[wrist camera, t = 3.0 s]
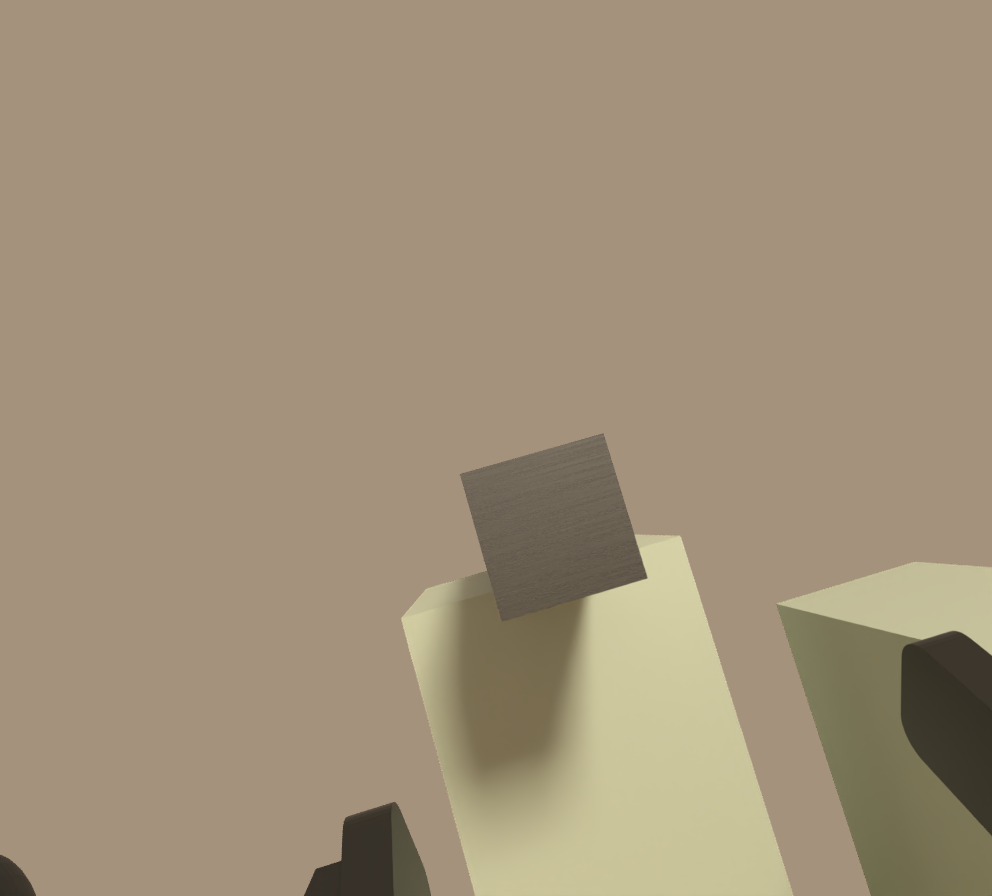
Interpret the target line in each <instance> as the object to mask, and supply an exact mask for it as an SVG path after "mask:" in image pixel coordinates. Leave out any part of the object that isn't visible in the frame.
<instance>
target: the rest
mask: <svg viewBox="0 0 992 896" xmlns="http://www.w3.org/2000/svg"><path fill="white" fill-rule="evenodd" d="M777 608H778V611H779V614H780V617H781V620H782V623H783V626H784V629H785V633H786V635H787V638H788V641H789V645H790V648H791V651H792V654H793V657H794V660H795V663H796V666H797V669H798V672H799V675H800V678H801V681H802V685H803V688H804V691H805V694H806V697H807V700H808V703H809V706H810V709H811V712H812V716H813V719H814V721H815V725H816V728H817V731H818V734H819V737H820V740H821V743H822V746H823V749H824V752H825V755H826V759H827V762H828V765H829V768H830V771H831V774H832V777H833V780H834V783H835V786H836V789H837V792H838V795H839V798H840V802H841V805H842V807H843V811H844V814H845V817H846V820H847V823H848V826H849V829H850V832H851V835H852V838H853V842H854V845H855V848H856V851H857V854H858V857H859V860H860V863H861V866H862V869H863V872H864V875H865V878H866V881H867V884H868V888H869V891H870V894H871V896H992V836H991V835H990V834H989V832H988V831H987V830H986V829H985V828H984V827H983V826H982V825H981V824H980V823H979V822H978V820H977V819H976V818H975V817H974V816H973V815H972V814H971V813H970V812H969V811H968V810H967V808H966V807H965V806H964V805H963V804H962V803H961V802H960V801H959V800H958V799H957V798H956V796H955V795H954V794H953V793H952V792H951V791H950V790H949V789H948V788H947V787H946V786H945V784H944V783H943V782H942V781H941V780H940V779H939V778H938V777H937V776H936V775H935V774H934V772H933V771H932V770H931V769H930V768H929V767H928V766H927V765H926V764H925V763H924V762H923V760H922V759H921V758H920V757H919V756H918V754H917V753H916V752H915V750H914V749H913V747H912V745H911V744H910V742H909V740H908V738H907V736H906V734H905V731H904V728H903V725H902V721H901V659H902V650H903V648H904V647H905V646H906V645H907V644H910V643H914V642H917V641H920V640H923V639H926V638H930V637H933V636H936V635H939V634H943V633H946V632H949V631H958V632H961V633H963V634H965V635H967V636H968V637H969V638H971V639H972V640H973V641H974V642H976V643H977V644H978V645H979V646H981V647H982V648H983V649H984V650H986V651H987V652H988V653H989V654H991V655H992V567H978V566H964V565H951V564H938V563H923V562H912V563H909V564H906V565H903V566H900V567H896V568H893V569H889V570H887V571H883V572H880V573H876V574H873V575H870V576H867V577H863V578H860V579H857V580H853V581H850V582H847V583H843V584H840V585H837V586H833V587H831V588H827V589H824V590H821V591H817V592H814V593H811V594H807V595H804V596H801V597H798V598H794V599H791V600H787V601H784V602H781V603H778V604H777Z"/></svg>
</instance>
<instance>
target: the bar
mask: <svg viewBox="0 0 992 896" xmlns="http://www.w3.org/2000/svg"><path fill="white" fill-rule="evenodd" d="M460 476H461V479H462V483H463V486H464V490H465V493H466V497H467V500H468V504H469V508H470V511H471V515H472V518H473V522H474V525H475V529H476V532H477V536H478V539H479V543H480V547H481V550H482V554H483V557H484V561H485V564H486V568H487V571H488V575H489V578H490V582H491V586H492V589H493V593H494V596H495V600H496V603H497V607H498V610H499V614H500V617H501V621H502V622H503V621H507V620H510V619H513V618H517V617H520V616H523V615H527V614H530V613H534V612H537V611H540V610H544V609H547V608H550V607H554V606H557V605H560V604H564V603H567V602H570V601H574V600H577V599H580V598H584V597H587V596H591V595H594V594H597V593H601V592H604V591H607V590H611V589H614V588H617V587H621V586H624V585H627V584H631V583H634V582H638V581H641V580H644V579H648V577H647V574H646V571H645V568H644V564H643V561H642V558H641V554H640V551H639V548H638V545H637V541H636V538H635V535H634V532H633V529H632V525H631V522H630V519H629V515H628V512H627V509H626V506H625V502H624V499H623V496H622V493H621V489H620V486H619V483H618V480H617V476H616V473H615V470H614V467H613V463H612V460H611V457H610V453H609V451H608V447H607V444H606V441H605V437H604V434H600V435H596V436H593V437H589V438H586V439H582V440H579V441H575V442H571V443H568V444H565V445H561V446H558V447H554V448H550V449H547V450H543V451H540V452H536V453H533V454H529V455H526V456H522V457H519V458H515V459H512V460H508V461H505V462H501V463H498V464H494V465H490V466H487V467H483V468H480V469H476V470H473V471H470V472H466V473H462V474H460Z"/></svg>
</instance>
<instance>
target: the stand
mask: <svg viewBox="0 0 992 896" xmlns="http://www.w3.org/2000/svg"><path fill="white" fill-rule="evenodd" d="M635 538H636V541H637V545H638V548H639V551H640V554H641V558H642V561H643V564H644V568H645V571H646V574H647V577H648V579H644V580H641V581H638V582H634V583H631V584H627V585H624V586H621V587H617V588H614V589H611V590H607V591H604V592H601V593H597V594H594V595H591V596H587V597H584V598H580V599H577V600H574V601H570V602H567V603H564V604H560V605H557V606H554V607H550V608H547V609H544V610H540V611H537V612H534V613H530V614H527V615H523V616H520V617H517V618H513V619H510V620H507V621H503V622H502V621H501V617H500V614H499V610H498V607H497V603H496V600H495V596H494V593H493V589H492V586H491V582H490V578H489V575H488V571H485V572H482V573H478V574H475V575H472V576H468V577H465V578H461V579H458V580H455V581H451V582H448V583H444V584H441V585H437V586H434V587H431V588H427V589H426V590H425V591H424V592H423V593H422V595H421V596H420V597H419V598H418V599H417V600H416V602H415V603H414V604H413V605H412V606H411V608H410V609H409V610H408V611H407V612H406V613H405V614H404V616H403V617H402V618H401V620H402V624H403V628H404V631H405V635H406V639H407V642H408V646H409V650H410V654H411V658H412V661H413V665H414V668H415V673H416V676H417V680H418V684H419V688H420V691H421V695H422V699H423V703H424V706H425V710H426V713H427V717H428V721H429V725H430V728H431V732H432V736H433V740H434V744H435V747H436V751H437V755H438V758H439V762H440V766H441V770H442V774H443V777H444V781H445V785H446V789H447V792H448V796H449V800H450V803H451V807H452V811H453V815H454V818H455V822H456V826H457V830H458V833H459V837H460V841H461V845H462V848H463V852H464V855H465V860H466V863H467V867H468V871H469V875H470V878H471V882H472V885H473V889H474V893H475V896H793V893H792V890H791V887H790V883H789V880H788V877H787V874H786V870H785V868H784V864H783V861H782V858H781V855H780V851H779V848H778V845H777V842H776V839H775V835H774V832H773V829H772V826H771V823H770V820H769V817H768V813H767V810H766V807H765V804H764V800H763V797H762V794H761V791H760V788H759V784H758V781H757V778H756V775H755V772H754V769H753V765H752V762H751V759H750V756H749V753H748V750H747V746H746V743H745V740H744V737H743V734H742V730H741V727H740V724H739V721H738V718H737V715H736V711H735V708H734V705H733V702H732V699H731V695H730V692H729V689H728V686H727V683H726V679H725V676H724V673H723V670H722V667H721V663H720V660H719V657H718V654H717V651H716V647H715V644H714V641H713V638H712V635H711V632H710V628H709V625H708V622H707V619H706V616H705V612H704V610H703V606H702V603H701V600H700V597H699V593H698V590H697V587H696V584H695V581H694V578H693V575H692V571H691V568H690V565H689V561H688V559H687V555H686V552H685V549H684V546H683V543H682V539H681V536H665V535H662V536H661V535H635Z"/></svg>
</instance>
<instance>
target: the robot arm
mask: <svg viewBox="0 0 992 896" xmlns="http://www.w3.org/2000/svg"><path fill="white" fill-rule="evenodd" d="M901 721H902V725H903V728H904V731H905V734H906V736H907V738H908V740H909V742H910V744H911V745H912V747H913V749H914V750H915V752H916V753H917V754H918V756H919V757H920V758H921V759H922V760H923V762H924V763H925V764H926V765H927V766H928V767H929V768H930V769H931V770H932V771H933V772H934V774H935V775H936V776H937V777H938V778H939V779H940V780H941V781H942V782H943V783H944V784H945V786H946V787H947V788H948V789H949V790H950V791H951V792H952V793H953V794H954V795H955V796H956V798H957V799H958V800H959V801H960V802H961V803H962V804H963V805H964V806H965V807H966V808H967V810H968V811H969V812H970V813H971V814H972V815H973V816H974V817H975V818H976V819H977V820H978V822H979V823H980V824H981V825H982V826H983V827H984V828H985V829H986V830H987V831H988V832H989V834H990V835H991V836H992V655H991V654H989V653H988V652H987V651H986V650H984V649H983V648H982V647H981V646H979V645H978V644H977V643H976V642H974V641H973V640H972V639H971V638H969V637H968V636H967V635H965V634H963V633H961V632H958V631H949V632H946V633H943V634H939V635H936V636H933V637H930V638H926V639H923V640H920V641H917V642H914V643H910V644H907V645H906V646H905V647H904V648H903V650H902V659H901ZM342 837H343V838H342V860H341V861H340V862H337V863H333V864H330V865H327V866H324V867H321V868H317V869H316V870H315V872H314V874H313V877H312V879H311V881H310V884H309V886H308V888H307V890H306V893H305V895H304V896H431V894H430V888H429V884H428V880H427V876H426V872H425V869H424V866H423V864H422V861H421V859H420V856H419V854H418V852H417V849H416V847H415V845H414V842H413V840H412V837H411V835H410V832H409V830H408V828H407V825H406V823H405V820H404V818H403V816H402V813H401V811H400V809H399V807H398V805H397V804H396V803H395V802H393V803H389V804H386V805H383V806H380V807H377V808H373V809H370V810H367V811H364V812H360V813H357V814H354V815H351V816H348V817H346V818H345V821H344V825H343V836H342ZM0 896H36V894H35V892H34V890H33V888H32V885H31V883H30V882H29V880H28V879H27V877H26V876H25V874H24V873H23V871H22V870H21V869H20V868H19V867H18V866H17V865H16V864H15V863H13V862H12V861H11V860H10V859H8V858H6V857H4V856H2V855H0Z"/></svg>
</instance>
